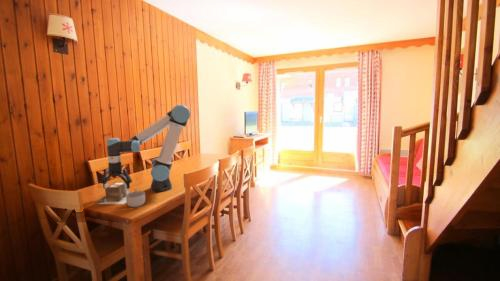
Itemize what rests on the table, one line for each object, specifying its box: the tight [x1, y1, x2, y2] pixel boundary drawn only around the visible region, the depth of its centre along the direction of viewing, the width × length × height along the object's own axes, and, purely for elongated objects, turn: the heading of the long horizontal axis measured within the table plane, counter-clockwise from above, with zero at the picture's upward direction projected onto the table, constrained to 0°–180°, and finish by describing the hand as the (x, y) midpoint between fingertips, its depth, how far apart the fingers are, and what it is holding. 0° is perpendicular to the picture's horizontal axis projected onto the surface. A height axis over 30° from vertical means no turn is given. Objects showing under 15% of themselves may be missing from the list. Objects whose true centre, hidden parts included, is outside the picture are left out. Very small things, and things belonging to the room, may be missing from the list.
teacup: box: [126, 190, 146, 209], centre depth 157 cm, size 14×11×8 cm
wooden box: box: [104, 181, 128, 202], centre depth 167 cm, size 12×8×9 cm, turn 179°
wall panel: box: [94, 195, 127, 205], centre depth 168 cm, size 18×20×2 cm
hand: (117, 193), depth 168 cm, fingers open, 13 cm apart
